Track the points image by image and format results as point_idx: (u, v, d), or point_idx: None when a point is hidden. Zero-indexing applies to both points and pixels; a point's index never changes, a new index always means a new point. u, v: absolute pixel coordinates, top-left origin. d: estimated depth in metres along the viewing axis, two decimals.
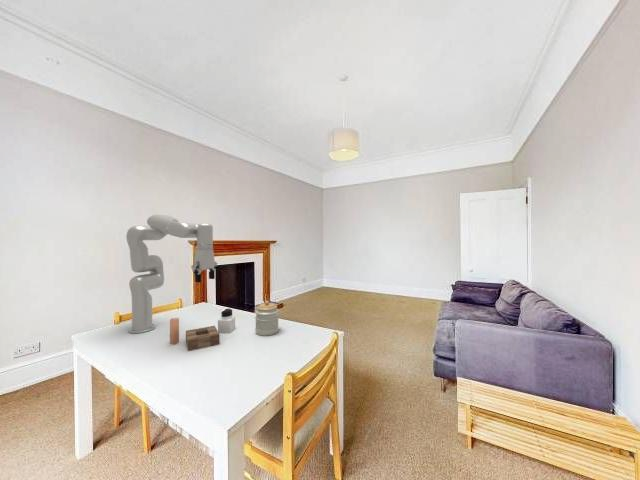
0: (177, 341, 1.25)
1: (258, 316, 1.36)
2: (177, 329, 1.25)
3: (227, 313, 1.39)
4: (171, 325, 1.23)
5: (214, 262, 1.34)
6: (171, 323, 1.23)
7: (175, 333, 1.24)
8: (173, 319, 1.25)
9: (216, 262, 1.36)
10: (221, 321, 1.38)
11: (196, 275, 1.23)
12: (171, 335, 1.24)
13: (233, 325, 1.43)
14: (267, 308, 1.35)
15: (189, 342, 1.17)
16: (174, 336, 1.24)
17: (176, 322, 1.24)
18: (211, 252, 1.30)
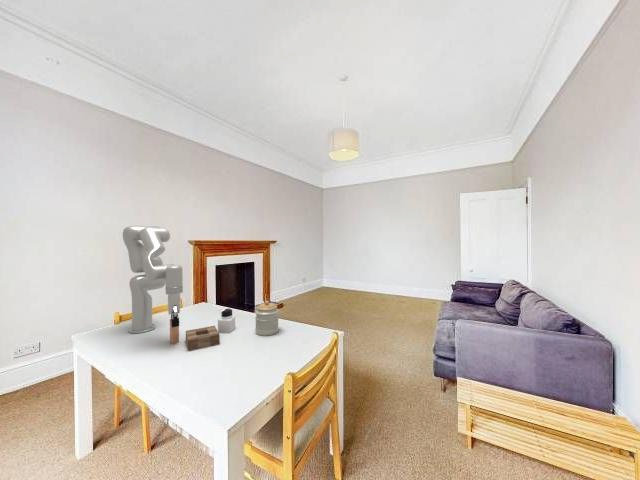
0: (177, 341, 1.25)
1: (258, 316, 1.36)
2: (177, 329, 1.25)
3: (227, 313, 1.39)
4: (171, 325, 1.23)
5: None
6: (171, 323, 1.23)
7: (175, 333, 1.24)
8: None
9: None
10: (221, 321, 1.38)
11: (175, 320, 1.20)
12: (171, 335, 1.24)
13: (233, 325, 1.43)
14: (267, 308, 1.35)
15: (189, 342, 1.17)
16: (174, 336, 1.24)
17: None
18: None
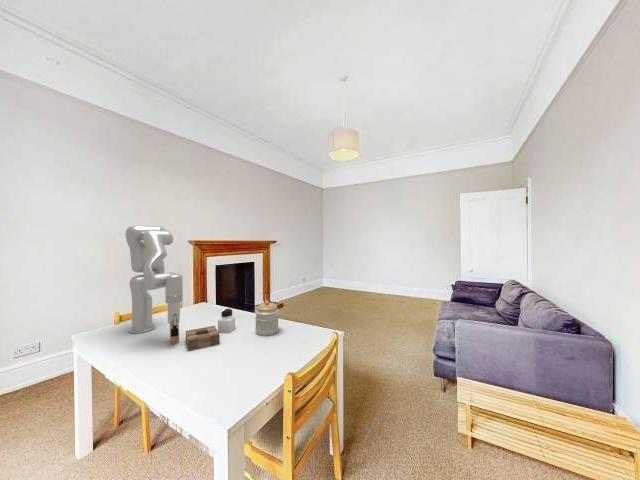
0: (177, 341, 1.25)
1: (258, 316, 1.36)
2: None
3: (227, 313, 1.39)
4: None
5: None
6: None
7: None
8: None
9: None
10: (221, 321, 1.38)
11: (174, 329, 1.23)
12: None
13: (233, 325, 1.43)
14: (267, 308, 1.35)
15: (189, 342, 1.17)
16: (174, 336, 1.24)
17: None
18: None
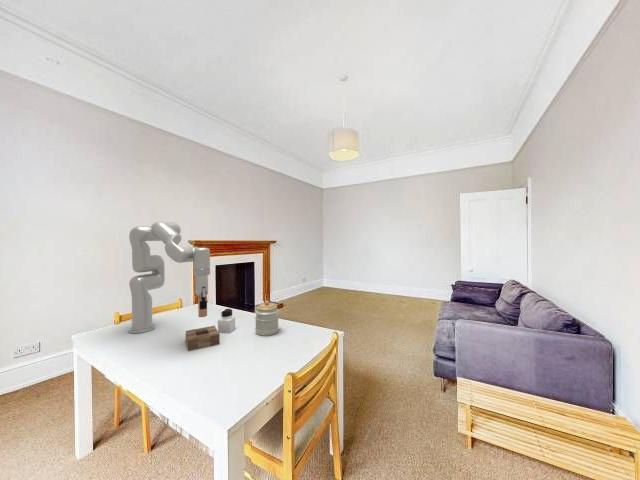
0: (205, 314, 1.25)
1: (258, 316, 1.36)
2: None
3: (227, 313, 1.39)
4: None
5: None
6: None
7: None
8: None
9: None
10: (221, 321, 1.38)
11: (203, 302, 1.23)
12: None
13: (233, 325, 1.43)
14: (267, 308, 1.35)
15: (189, 342, 1.17)
16: (203, 309, 1.24)
17: None
18: None
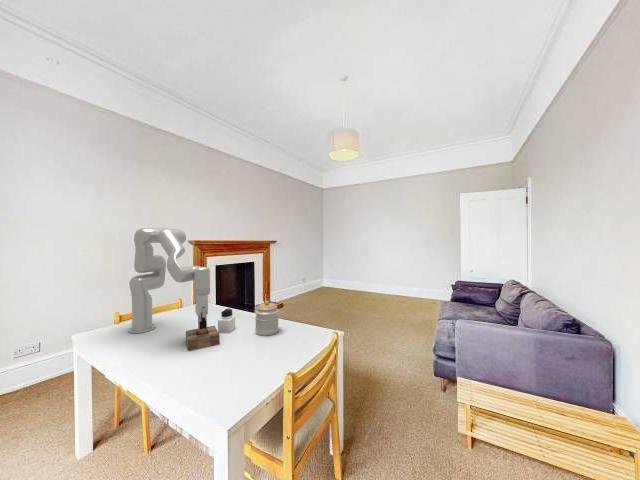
0: (205, 333, 1.25)
1: (258, 316, 1.36)
2: None
3: (227, 313, 1.39)
4: (199, 317, 1.24)
5: None
6: (199, 315, 1.24)
7: None
8: None
9: None
10: (221, 321, 1.38)
11: (203, 322, 1.23)
12: None
13: (233, 325, 1.43)
14: (267, 308, 1.35)
15: (189, 342, 1.17)
16: (202, 329, 1.24)
17: None
18: None
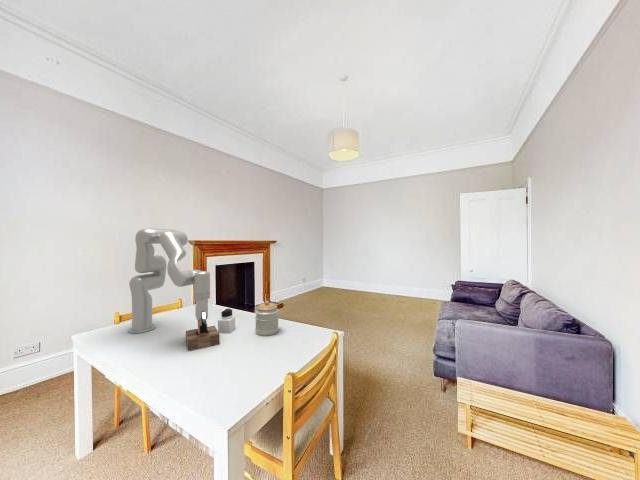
0: None
1: (258, 316, 1.36)
2: None
3: (227, 313, 1.39)
4: (199, 325, 1.24)
5: None
6: (199, 323, 1.24)
7: (203, 333, 1.25)
8: None
9: None
10: (221, 321, 1.38)
11: (203, 326, 1.22)
12: None
13: (233, 325, 1.43)
14: (267, 308, 1.35)
15: (189, 342, 1.17)
16: None
17: None
18: None
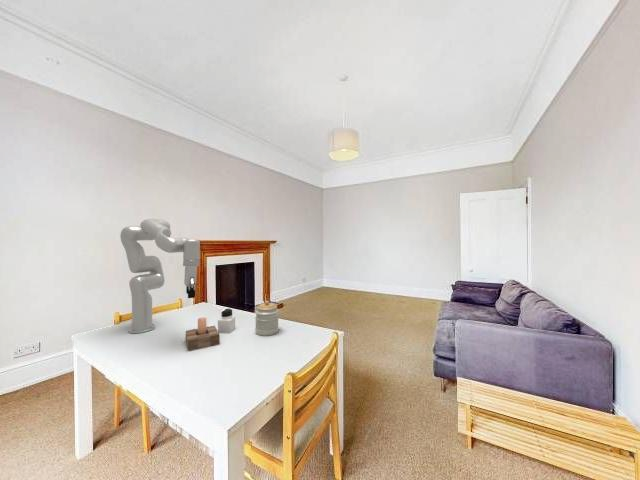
0: None
1: (258, 316, 1.36)
2: (205, 329, 1.25)
3: (227, 313, 1.39)
4: (199, 325, 1.24)
5: None
6: (199, 323, 1.24)
7: (203, 333, 1.25)
8: (201, 319, 1.25)
9: None
10: (221, 321, 1.38)
11: (191, 291, 1.24)
12: None
13: (233, 325, 1.43)
14: (267, 308, 1.35)
15: (189, 342, 1.17)
16: None
17: (204, 322, 1.25)
18: None
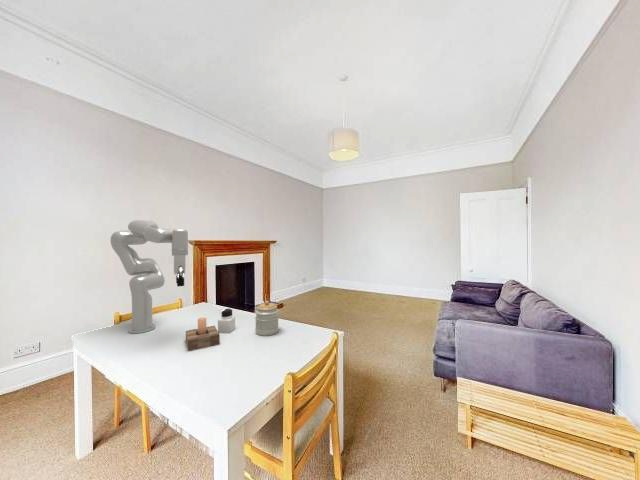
0: None
1: (258, 316, 1.36)
2: (205, 329, 1.25)
3: (227, 313, 1.39)
4: (199, 325, 1.24)
5: None
6: (199, 323, 1.24)
7: (203, 333, 1.25)
8: (201, 319, 1.25)
9: None
10: (221, 321, 1.38)
11: (180, 279, 1.27)
12: None
13: (233, 325, 1.43)
14: (267, 308, 1.35)
15: (189, 342, 1.17)
16: None
17: (204, 322, 1.25)
18: None
